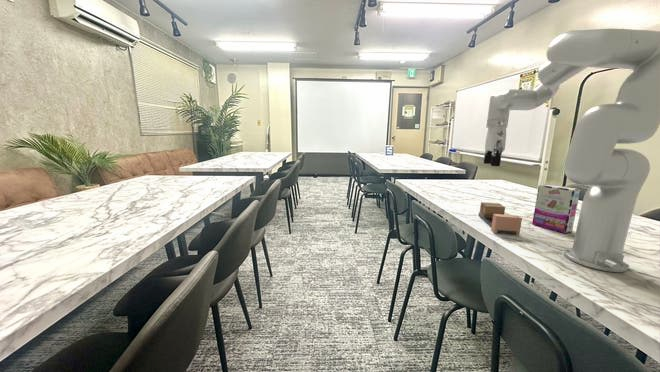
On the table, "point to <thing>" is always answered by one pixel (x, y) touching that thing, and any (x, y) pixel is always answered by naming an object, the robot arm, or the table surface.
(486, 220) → the metal rail
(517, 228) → the block
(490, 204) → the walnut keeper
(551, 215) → the candy bar box
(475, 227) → the table surface
